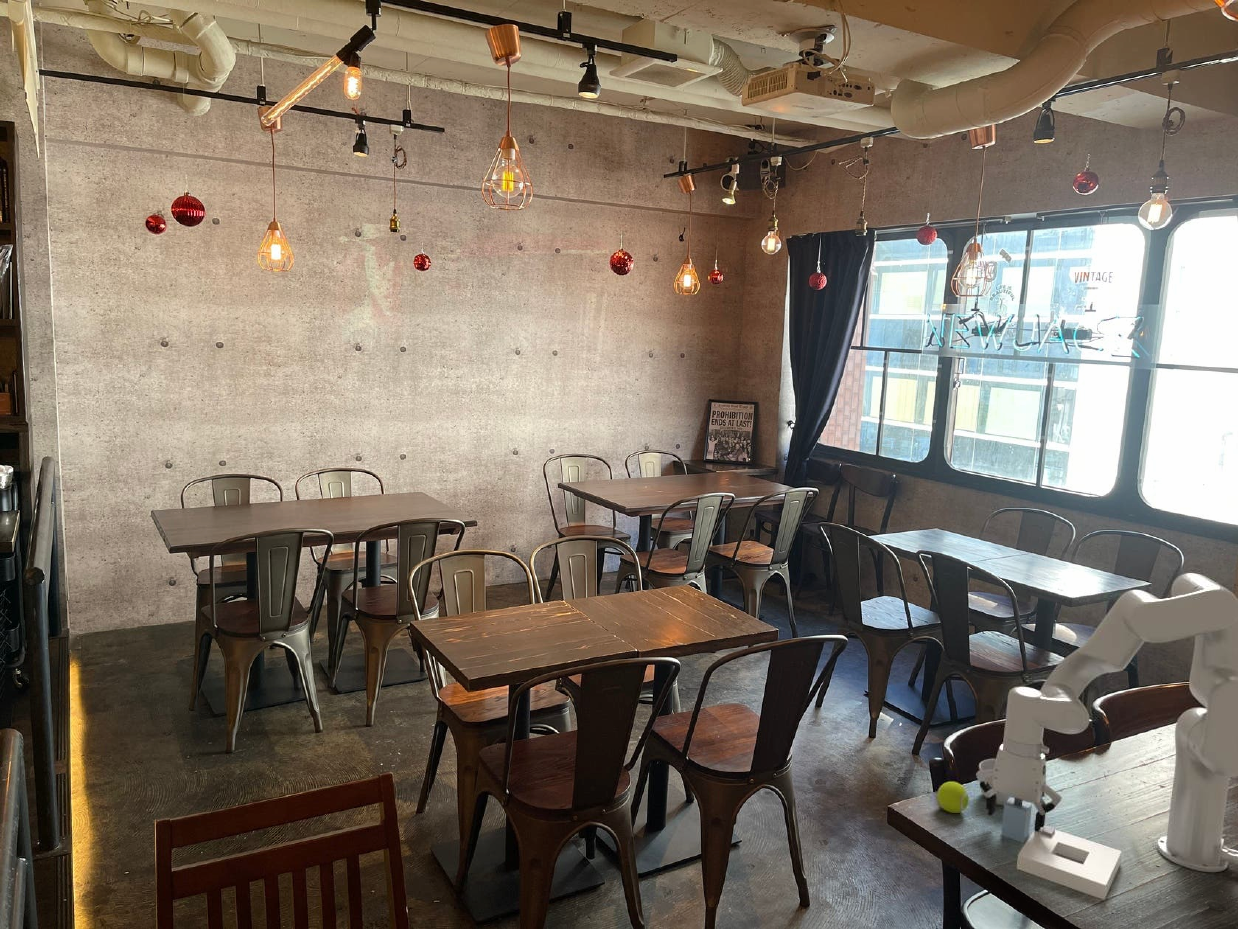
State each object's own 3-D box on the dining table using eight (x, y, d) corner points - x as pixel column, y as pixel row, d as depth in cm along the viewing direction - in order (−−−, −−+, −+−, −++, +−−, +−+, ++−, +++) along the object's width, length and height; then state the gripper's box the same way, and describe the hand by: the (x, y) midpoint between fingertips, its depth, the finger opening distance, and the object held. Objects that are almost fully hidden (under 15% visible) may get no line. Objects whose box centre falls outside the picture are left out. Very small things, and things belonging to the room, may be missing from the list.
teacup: (1019, 816, 207) (1022, 782, 206) (970, 801, 214) (973, 768, 213) (1034, 794, 218) (1037, 762, 217) (987, 779, 225) (990, 748, 224)
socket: (1120, 865, 188) (1122, 847, 188) (1104, 900, 176) (1106, 881, 175) (1037, 837, 198) (1038, 820, 198) (1016, 868, 186) (1018, 851, 185)
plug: (1028, 834, 199) (1032, 795, 198) (1023, 842, 196) (1027, 802, 195) (1007, 827, 202) (1011, 788, 201) (1001, 835, 199) (1005, 795, 198)
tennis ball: (942, 801, 213) (945, 773, 212) (971, 811, 209) (974, 783, 208) (931, 811, 208) (933, 783, 207) (961, 822, 204) (963, 793, 203)
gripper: (1070, 752, 194) (1061, 828, 196) (985, 728, 205) (978, 801, 207) (1061, 764, 188) (1052, 842, 191) (975, 739, 199) (968, 813, 201)
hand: (1014, 821), depth 199 cm, fingers open, 9 cm apart
